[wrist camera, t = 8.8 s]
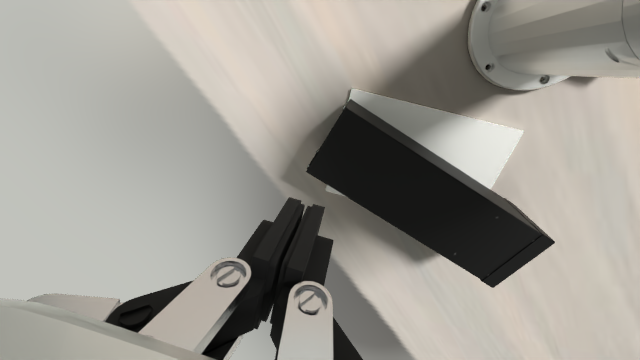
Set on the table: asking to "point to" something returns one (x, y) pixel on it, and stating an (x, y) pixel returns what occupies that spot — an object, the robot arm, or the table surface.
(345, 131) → the black rectangular box
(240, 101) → the table surface
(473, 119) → the white mat
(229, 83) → the table surface
